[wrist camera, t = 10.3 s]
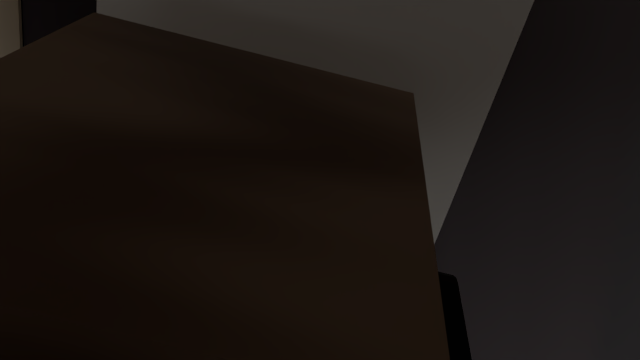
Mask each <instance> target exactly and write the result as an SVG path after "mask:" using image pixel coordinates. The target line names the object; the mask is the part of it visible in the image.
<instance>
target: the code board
mask: <svg viewBox="0 0 640 360" xmlns="http://www.w3.org/2000/svg"><path fill="white" fill-rule="evenodd" d="M22 47H23V40H22V16H21V0H0V58H2V57H4V56H6V55H8V54H10V53H12V52H14V51H16V50H18V49H20V48H22Z"/></svg>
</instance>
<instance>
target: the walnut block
mask: <svg viewBox="0 0 640 360" xmlns="http://www.w3.org/2000/svg"><path fill="white" fill-rule="evenodd" d="M0 360H450V356H449V349H448V342H447V335H446V327H445V320H444V313H443V305H442V298H441V291H440V283H439V276H438V269H437V261H436V254H435V247H434V239H433V232H432V225H431V217H430V210H429V203H428V195H427V188H426V181H425V173H424V166H423V159H422V151H421V144H420V137H419V130H418V122H417V115H416V108H415V100H414V93H411V92H407V91H403V90H399V89H395V88H391V87H387V86H383V85H379V84H375V83H371V82H367V81H363V80H359V79H355V78H351V77H347V76H344V75H340V74H336V73H332V72H328V71H324V70H320V69H316V68H312V67H308V66H304V65H300V64H296V63H292V62H288V61H284V60H280V59H276V58H273V57H269V56H265V55H261V54H257V53H253V52H249V51H245V50H241V49H237V48H233V47H229V46H225V45H221V44H217V43H213V42H209V41H206V40H202V39H198V38H194V37H190V36H186V35H182V34H178V33H174V32H170V31H166V30H162V29H158V28H154V27H150V26H146V25H142V24H138V23H135V22H131V21H127V20H123V19H119V18H115V17H111V16H107V15H103V14H99V13H95V12H94V13H92V14H90V15H88V16H86V17H84V18H82V19H80V20H77V21H75V22H73V23H71V24H69V25H67V26H65V27H63V28H61V29H59V30H57V31H55V32H53V33H51V34H49V35H47V36H45V37H43V38H41V39H38V40H36V41H34V42H32V43H30V44H28V45H26V46H24V47H22V48H20V49H18V50H16V51H14V52H12V53H10V54H8V55H6V56H4V57H2V58H0Z"/></svg>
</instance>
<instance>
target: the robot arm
mask: <svg viewBox="0 0 640 360" xmlns="http://www.w3.org/2000/svg"><path fill="white" fill-rule="evenodd" d="M438 276H439V283H440V291H441V298H442V305H443V313H444V320H445V327H446V335H447V342H448V349H449V356H450V360H472V359H471V353H470V348H469V342H468V337H467V331H466V326H465V320H464V315H463V309H462V304H461V298H460V293H459V287H458V282H457V279H456V277H454V276H453V275H449V274H445V273H441V272H438Z"/></svg>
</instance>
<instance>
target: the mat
mask: <svg viewBox="0 0 640 360" xmlns="http://www.w3.org/2000/svg"><path fill="white" fill-rule="evenodd" d="M533 2H534V0H97V13H99V14H103V15H107V16H111V17H115V18H119V19H123V20H127V21H131V22H135V23H138V24H142V25H146V26H150V27H154V28H158V29H162V30H166V31H170V32H174V33H178V34H182V35H186V36H190V37H194V38H198V39H202V40H206V41H209V42H213V43H217V44H221V45H225V46H229V47H233V48H237V49H241V50H245V51H249V52H253V53H257V54H261V55H265V56H269V57H273V58H276V59H280V60H284V61H288V62H292V63H296V64H300V65H304V66H308V67H312V68H316V69H320V70H324V71H328V72H332V73H336V74H340V75H344V76H347V77H351V78H355V79H359V80H363V81H367V82H371V83H375V84H379V85H383V86H387V87H391V88H395V89H399V90H403V91H407V92H411V93H414V100H415V108H416V115H417V122H418V130H419V137H420V144H421V151H422V159H423V166H424V173H425V181H426V188H427V195H428V203H429V210H430V217H431V225H432V232H433V239H434V244H435V241H436V239H437V237H438V234H439V232H440V229H441V227H442V224H443V222H444V219H445V217H446V215H447V212H448V210H449V207H450V205H451V202H452V200H453V198H454V195H455V193H456V190H457V188H458V185H459V183H460V180H461V178H462V176H463V173H464V171H465V168H466V166H467V163H468V161H469V159H470V156H471V154H472V151H473V149H474V146H475V144H476V141H477V139H478V137H479V134H480V132H481V129H482V127H483V124H484V122H485V119H486V117H487V115H488V112H489V110H490V107H491V105H492V102H493V100H494V98H495V95H496V93H497V90H498V88H499V85H500V83H501V80H502V78H503V76H504V73H505V71H506V68H507V66H508V63H509V61H510V58H511V56H512V54H513V51H514V49H515V46H516V44H517V41H518V39H519V37H520V34H521V32H522V29H523V27H524V24H525V22H526V19H527V17H528V15H529V12H530V10H531V7H532V5H533Z"/></svg>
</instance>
